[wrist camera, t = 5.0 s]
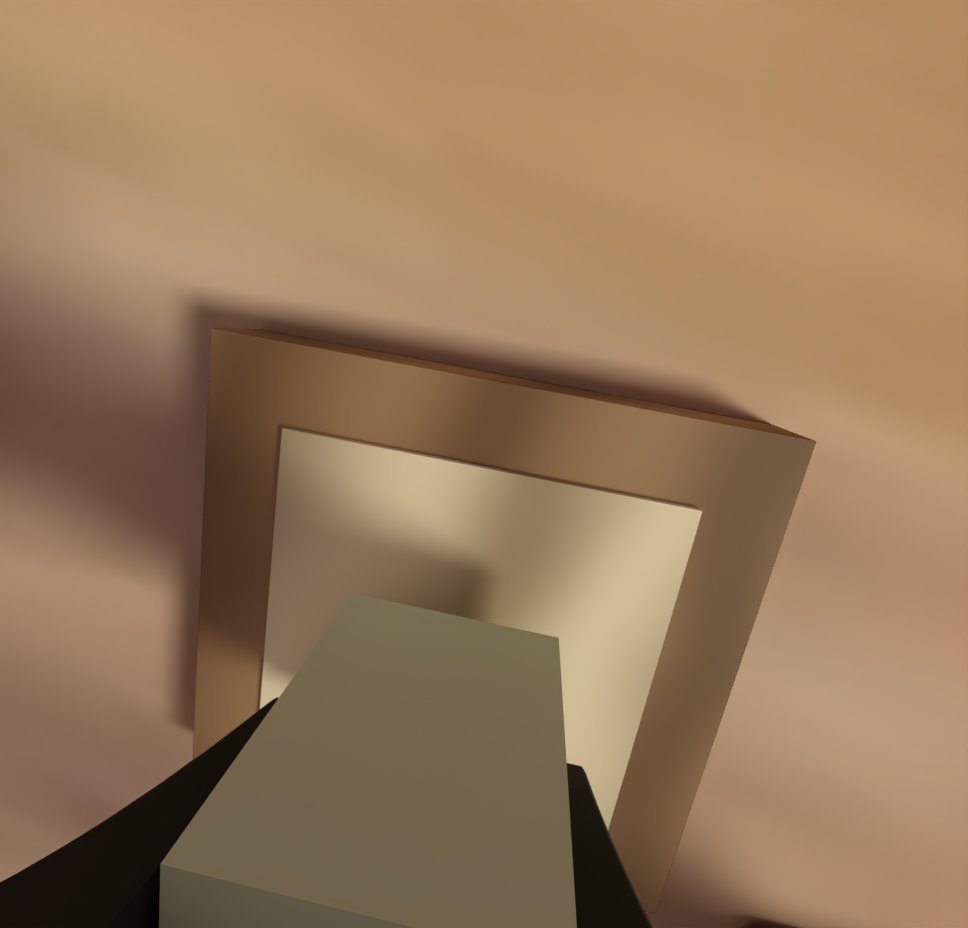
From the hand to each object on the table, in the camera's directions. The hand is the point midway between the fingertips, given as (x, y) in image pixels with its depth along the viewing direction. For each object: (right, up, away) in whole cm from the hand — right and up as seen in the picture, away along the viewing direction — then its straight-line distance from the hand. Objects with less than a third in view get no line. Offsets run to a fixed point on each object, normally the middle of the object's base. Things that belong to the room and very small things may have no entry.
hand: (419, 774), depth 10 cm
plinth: (+1, +1, +6) cm, 6 cm away
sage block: (0, 0, +2) cm, 2 cm away
